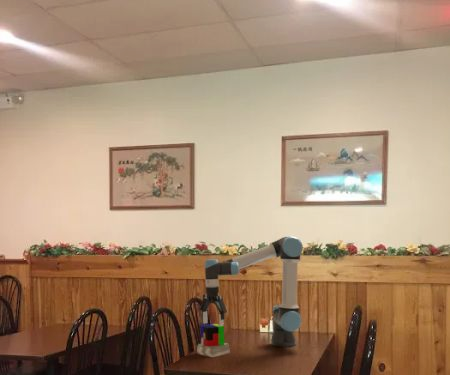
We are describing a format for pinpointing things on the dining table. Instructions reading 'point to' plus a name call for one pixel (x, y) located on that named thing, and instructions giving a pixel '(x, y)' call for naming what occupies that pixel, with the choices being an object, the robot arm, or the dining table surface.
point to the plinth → (213, 350)
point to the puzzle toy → (212, 335)
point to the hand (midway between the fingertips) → (213, 324)
